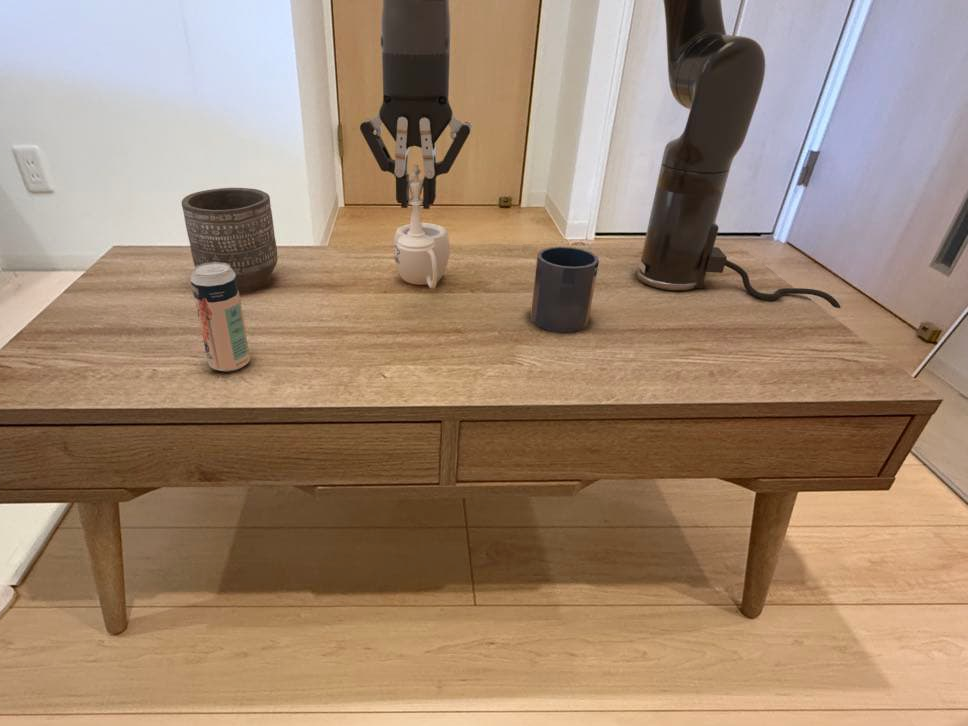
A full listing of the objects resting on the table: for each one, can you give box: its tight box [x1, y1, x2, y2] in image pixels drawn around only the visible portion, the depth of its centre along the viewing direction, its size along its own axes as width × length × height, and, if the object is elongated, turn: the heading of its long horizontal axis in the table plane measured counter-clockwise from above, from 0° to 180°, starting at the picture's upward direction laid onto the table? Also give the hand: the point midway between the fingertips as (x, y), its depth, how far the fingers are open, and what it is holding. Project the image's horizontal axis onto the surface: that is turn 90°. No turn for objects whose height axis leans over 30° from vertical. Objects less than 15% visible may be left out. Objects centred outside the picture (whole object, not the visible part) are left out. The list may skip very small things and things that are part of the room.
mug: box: [393, 222, 450, 290], centre depth 92 cm, size 12×8×8 cm
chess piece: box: [397, 164, 435, 252], centre depth 77 cm, size 5×5×10 cm
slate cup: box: [530, 246, 600, 333], centre depth 82 cm, size 8×8×9 cm
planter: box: [181, 187, 279, 294], centre depth 90 cm, size 12×12×13 cm
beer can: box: [189, 262, 251, 373], centre depth 70 cm, size 5×5×12 cm
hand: (415, 206), depth 77 cm, fingers closed on chess piece
